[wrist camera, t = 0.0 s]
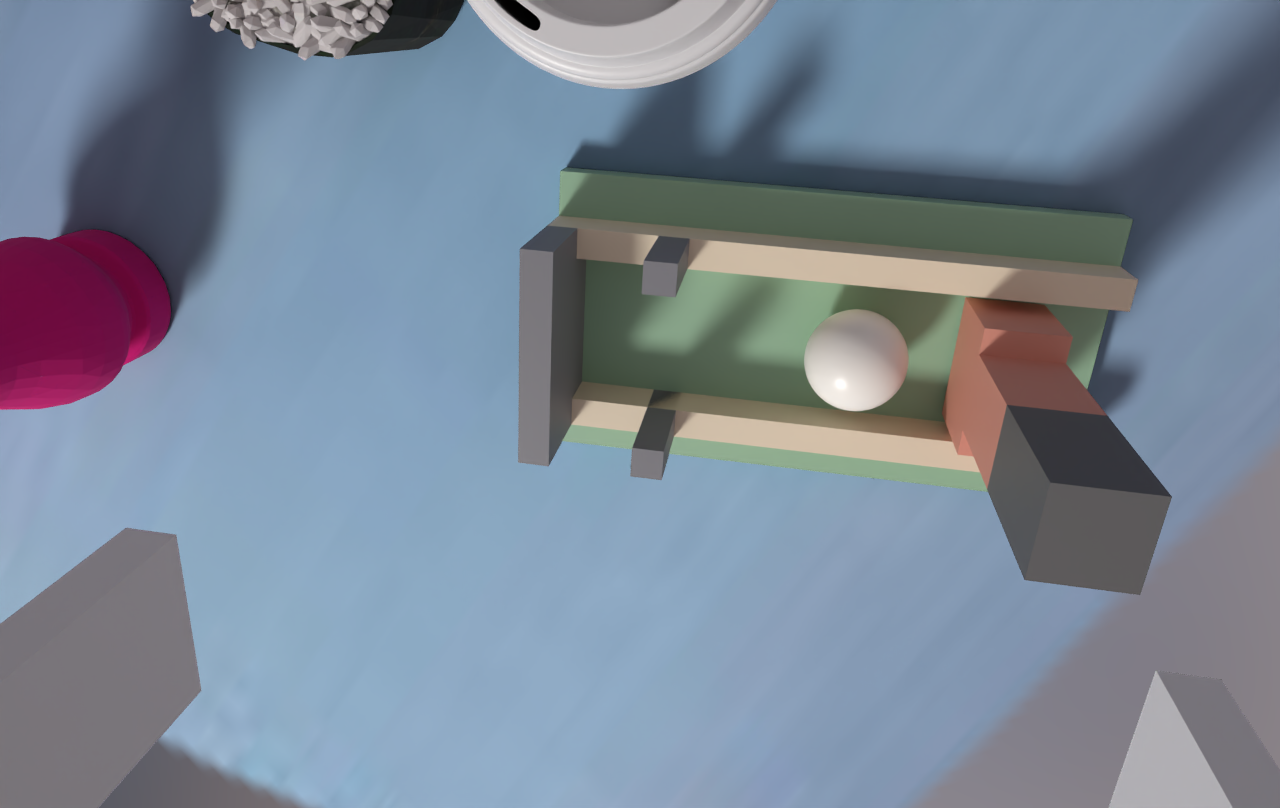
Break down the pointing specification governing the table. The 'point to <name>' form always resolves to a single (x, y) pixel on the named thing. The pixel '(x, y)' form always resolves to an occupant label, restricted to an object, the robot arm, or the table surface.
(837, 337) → the ball
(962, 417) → the black and red block
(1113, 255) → the pitch
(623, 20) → the coffee cup
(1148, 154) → the table surface
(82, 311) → the pepper mill
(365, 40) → the sushi
